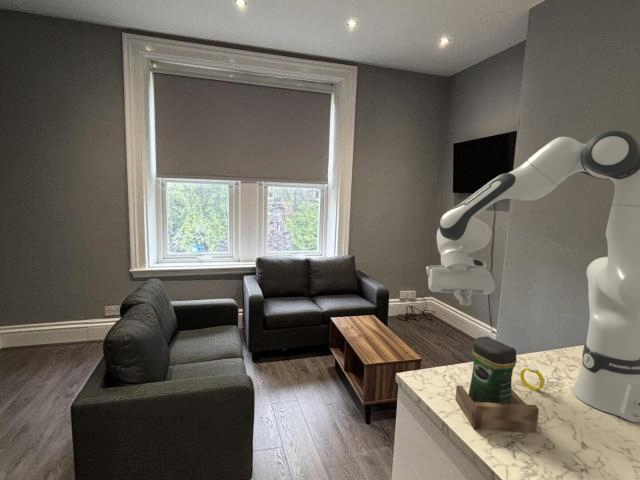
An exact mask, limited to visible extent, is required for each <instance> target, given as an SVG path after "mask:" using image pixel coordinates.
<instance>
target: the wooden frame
mask: <svg viewBox="0 0 640 480" xmlns="http://www.w3.org/2000/svg"><path fill="white" fill-rule="evenodd" d="M455 401H456V403H457V405H458V406H459V408H460V410H461V411H462V413H463V414H464V416H465V418H466V419H467V421H468V423H469V424H470V425H471V427H472V429H473V431H490V432H491V431H493V432H512V433H514V432H515V433H516V432H517V433H533V434H534V433H535V434H536V433H537V430H538V428H537V427H538V421H539V420H538V419H539V413H540V408H539V407H538V406H537V405H536V404H528V403H525V401H524V400H523V399H522V398H521V397H520V396H519V395H518V394H517V393H516V392H515V391H514V390H513V388H511V404H506V403H485V402H473V400H472V399H471V398H470V396H469V392H467V390H466V388H465V387H464V386H463V385H456V390H455Z"/></svg>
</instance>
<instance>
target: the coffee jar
mask: <svg viewBox="0 0 640 480" xmlns="http://www.w3.org/2000/svg"><path fill="white" fill-rule="evenodd" d="M471 351H472V358H473V360H472V361H473V365H472V373H471V380H470V385H469V390H468V395H469V396H470V398H471V399H472V400H473V402H485V403H506V404H511V389H512V379H513V371H514V368H515V367H516V364H517V350H516V349H515V348H514V347H512V346H510V345H507V344H505V343H503V342H500V341H498V340H496V339H494V338H491V337H490V336H489V335H488V336H480V337H477V338H476V339H475V340H474V343H473V346H472V350H471Z"/></svg>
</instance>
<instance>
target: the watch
mask: <svg viewBox="0 0 640 480" xmlns="http://www.w3.org/2000/svg"><path fill="white" fill-rule="evenodd" d="M525 371H529V373H530V372H531V373H535V374H536V375H537V377H538V378H539V386H538V387H535V386H534V385H532V384H529V383H528V382H527V381H526V378H525ZM519 376H520V381H521V382H522V384H523V386H525V387H527V388H530V389H532V390H534V391H539V390H541V389H542V388H543V387H544V385H545V379H544V376H543V374H542V373H541V372H540V369H539V368H538V367H536V366H532V365H528V366H527V367H525V368H523V369H521V371H520V375H519Z"/></svg>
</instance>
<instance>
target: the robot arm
mask: <svg viewBox="0 0 640 480" xmlns="http://www.w3.org/2000/svg"><path fill="white" fill-rule="evenodd" d="M575 173H582V174H585V175H587V176H589V177H592V178H595V179H598V180H599V179H600V180H611V181H612V182H613V186H614V194H613V200H612V204H611V207H610V212H609V217H608V221H607V226H606V229H605V237H606V240H607V241H606V242H607V243H606V244H607V256H603V257H598V258H596V259H594V260H592V261H591V262H590V263H589V264H588V266H587V268H586V273H585V274H586V278H587V284H588V285H587V286H588V289H587V290H588V306H589V321H588V329H587V336H586V342H585V343H584V345H583V349H582V356H581V357H582V363H581V367H580V370H579V374H578V376H577V378H576V381H575V383H574V385H573V387H572V388H571V390H572V393H573V394H574V396H575V397H577V399H579V400H580V401H582V402H584V403H585V404H587V405H588V406H591V407H593V408H596V409H597V410H600V411H602V412H606V413H609V414H612V415H615V416H616V417H617V416H618V417H620V418H622V419H625V421H629V422H632V423H640V144H639V142H638V140H637V139H636V138H635V137H634V136H633V135H632V134H630V133H628V132H627V131H623V130H608V131H604V132H601V133H598V134H597V135H595V136H593V137H592V138H591V139H590V140H589V141H588V142H587V143H582V142H579V141H578V140H576V139H575V138H572V137H570V136H559V137H557V138H554V139H552V140H551V141H549V142H548V143H546V144H545V145H544V146H543V147H541V148H540V149H539V150H537V151H536V152H535V153H533V155H531V156H530V157H529V158H527V160H526V161H525V162H523V163H522V164H521V165H519V166H518V167H516V168H515V169H513V170H511V171H509V172H505V173H501V174H499V175H497V176H496V177H494V178H493V179H491V180H489V181H488V182H487V183H485V184H484V185H483V186H482V187H480V188H479V189H478V190H476V191H474V193H472V194H471V195H470V196H468V197H467V198H466V199H464V200H463V201H462V202H460V203H458V204H457V205H455V206H453V207H451V208H450V209H447V210H446V211H445V212H444V213H443V214H442V216H440V219H439V224H438V225H439V226H438V229H437V232H436V245H437V250H438V253H439V254H440V263H441V265H440V264H439V265H434V264H430V265H429V266H426V268H425V272H426V275H427V276H428V277H427V279H428V281H427V283H428V289H429V290H430V292H432V293H448V294H453V295H454V297H455V298H456V300H458V302H459V305H460V306H470V305H472V299H471V298H472V295H490V294H492V293H493V292H494V290H495V289H496V285H495V282H494V278H493V276H492V274H491V272H490V271H489V270H488V269H486V268H487V263H486V262H485V261H483V260H479V259H476V258H474V257H471V256H469V255H470V254H473V253H476V252H478V251H481V250H483V249H486V247H488V246H489V244H490V243H491V241H492V240H493V239H492V238H493V229H492V228H491V226H489V225H488V224H487V223H485V222H483V221H482V220H481V219H478V218H477V216H478V215H480V213H482V212H484V211H485V210H486V209H488V208H489V207H491V206H492V205H493V204H495V203H497V202H500V201H502V200H510V199H511V200H520V201H526V202H527V201H531V202H532V201H537V200H541V198H543V197H546V196H547V195H548V194H550V193H551V192H553V190H555V189H556V188H557V187H558V186H559V185H560V184H562V183H563V182H564V181H565V180H567V178H569V177H571V176H572V175H573V174H575ZM462 294H464V295H465V296H466V297H463V296H462Z"/></svg>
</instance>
